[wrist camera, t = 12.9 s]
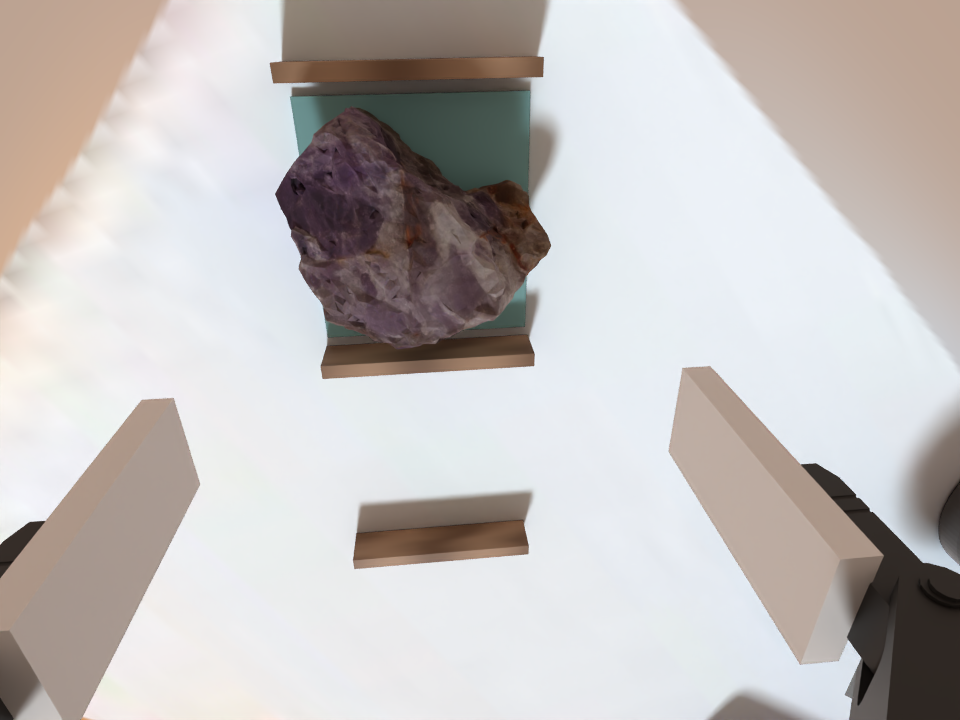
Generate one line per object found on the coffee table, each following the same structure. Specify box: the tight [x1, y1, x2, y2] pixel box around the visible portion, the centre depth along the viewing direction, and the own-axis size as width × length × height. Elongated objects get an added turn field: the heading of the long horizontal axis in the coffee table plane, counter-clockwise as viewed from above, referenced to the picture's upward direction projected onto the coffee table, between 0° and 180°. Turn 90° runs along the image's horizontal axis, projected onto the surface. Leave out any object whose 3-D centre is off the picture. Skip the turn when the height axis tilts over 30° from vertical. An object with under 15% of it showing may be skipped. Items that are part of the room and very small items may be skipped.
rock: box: [275, 106, 551, 349], centre depth 28 cm, size 12×9×10 cm
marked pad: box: [290, 90, 530, 337], centre depth 31 cm, size 12×13×1 cm
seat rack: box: [270, 56, 544, 569], centre depth 34 cm, size 12×31×2 cm, turn 1°
